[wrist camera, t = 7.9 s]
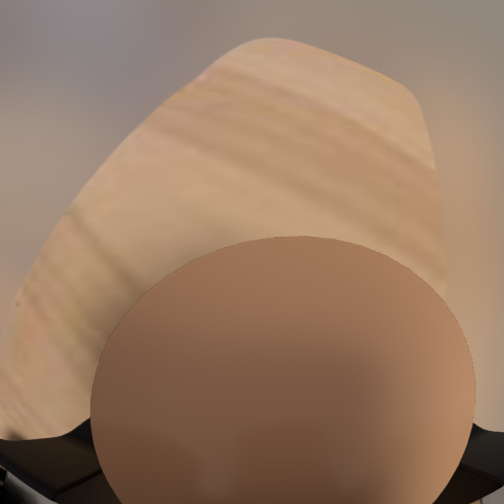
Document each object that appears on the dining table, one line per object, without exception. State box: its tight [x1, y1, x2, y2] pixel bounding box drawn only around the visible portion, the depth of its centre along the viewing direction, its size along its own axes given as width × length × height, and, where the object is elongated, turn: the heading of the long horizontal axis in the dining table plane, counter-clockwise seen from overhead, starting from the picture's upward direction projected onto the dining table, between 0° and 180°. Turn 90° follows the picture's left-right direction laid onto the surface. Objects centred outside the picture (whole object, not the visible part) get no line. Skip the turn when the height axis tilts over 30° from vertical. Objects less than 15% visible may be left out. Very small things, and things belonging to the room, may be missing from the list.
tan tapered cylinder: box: [90, 236, 476, 504], centre depth 9 cm, size 5×5×13 cm
